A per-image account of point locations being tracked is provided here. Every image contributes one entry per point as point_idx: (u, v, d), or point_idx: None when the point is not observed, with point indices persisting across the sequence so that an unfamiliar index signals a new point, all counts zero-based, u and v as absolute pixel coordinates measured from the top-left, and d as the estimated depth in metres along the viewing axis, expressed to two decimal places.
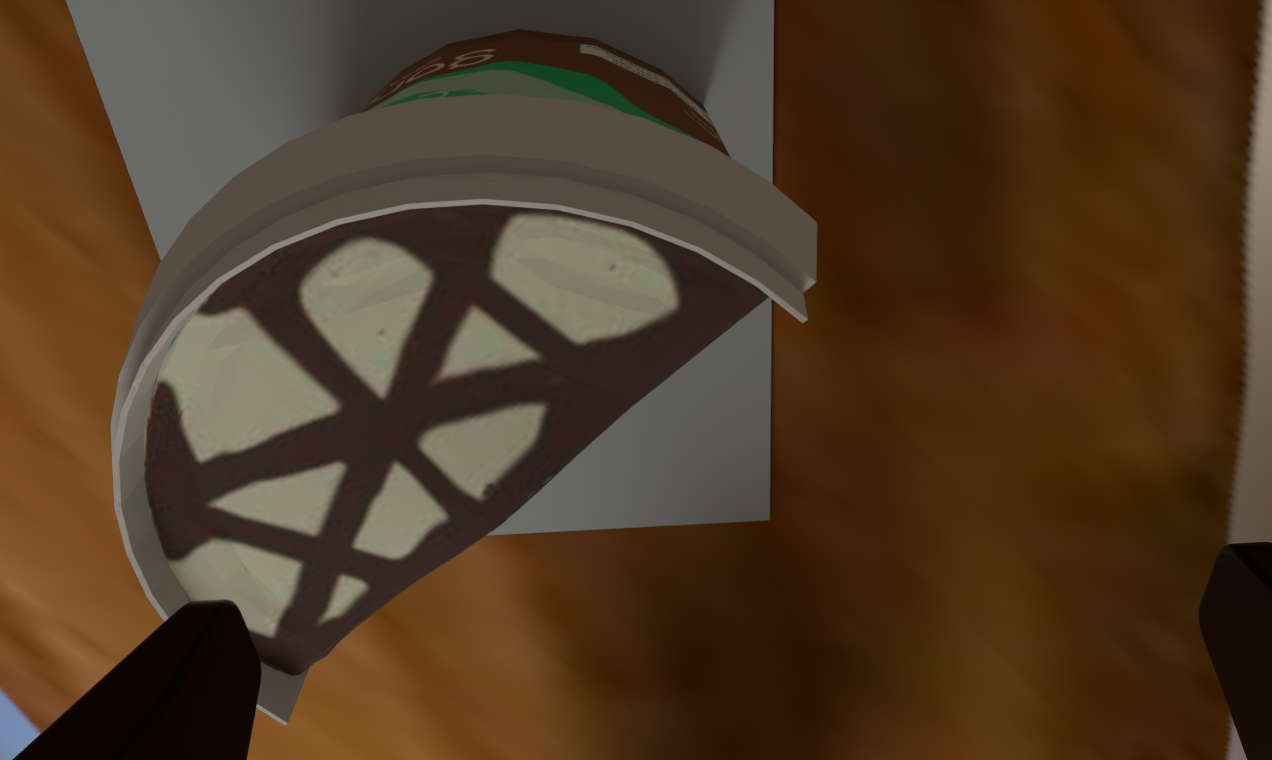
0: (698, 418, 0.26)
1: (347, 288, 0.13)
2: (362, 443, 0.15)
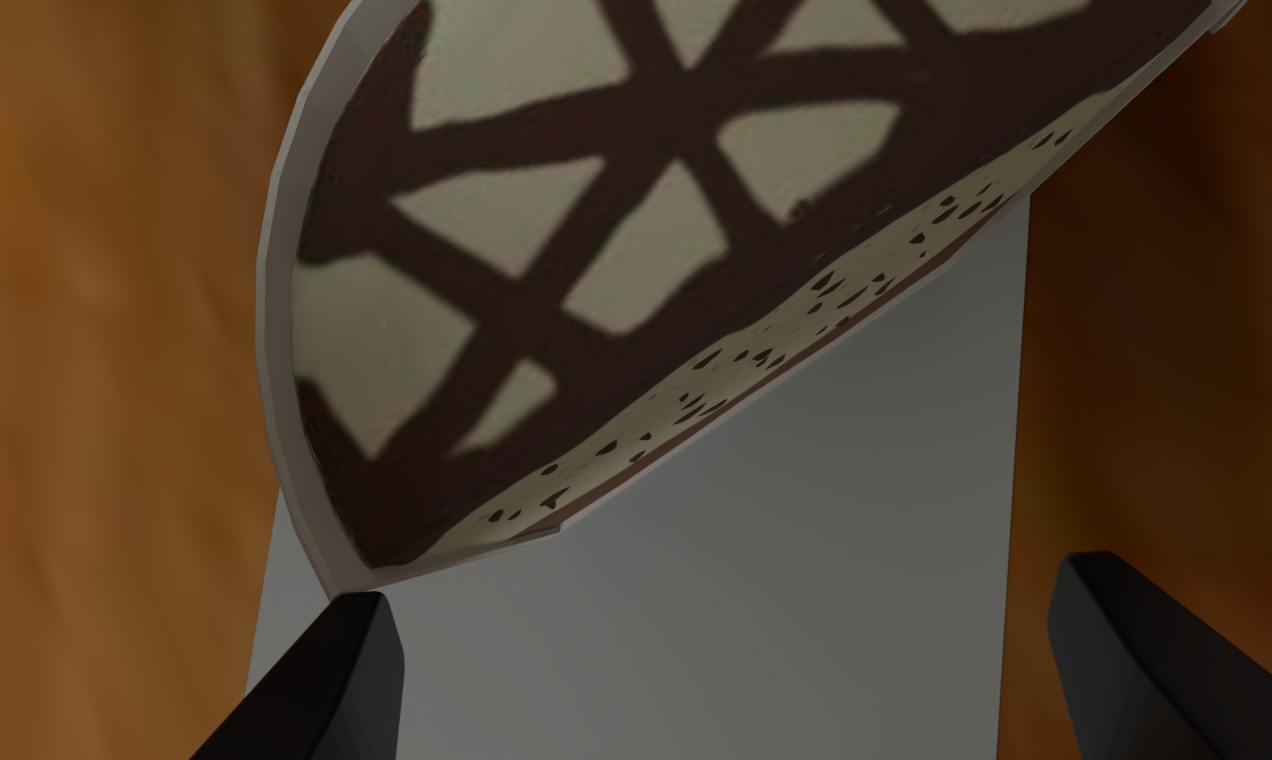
0: (899, 692, 0.19)
1: None
2: (637, 131, 0.11)
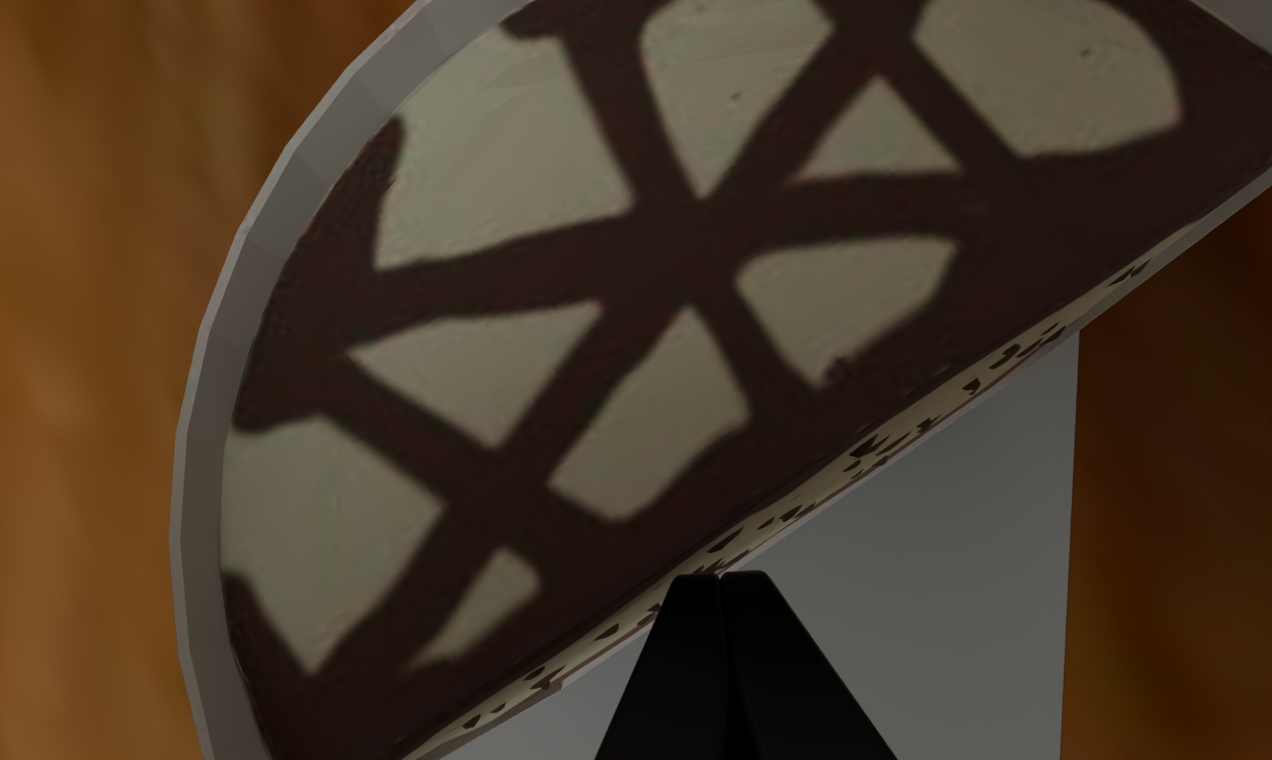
0: None
1: (709, 31, 0.10)
2: (642, 273, 0.09)
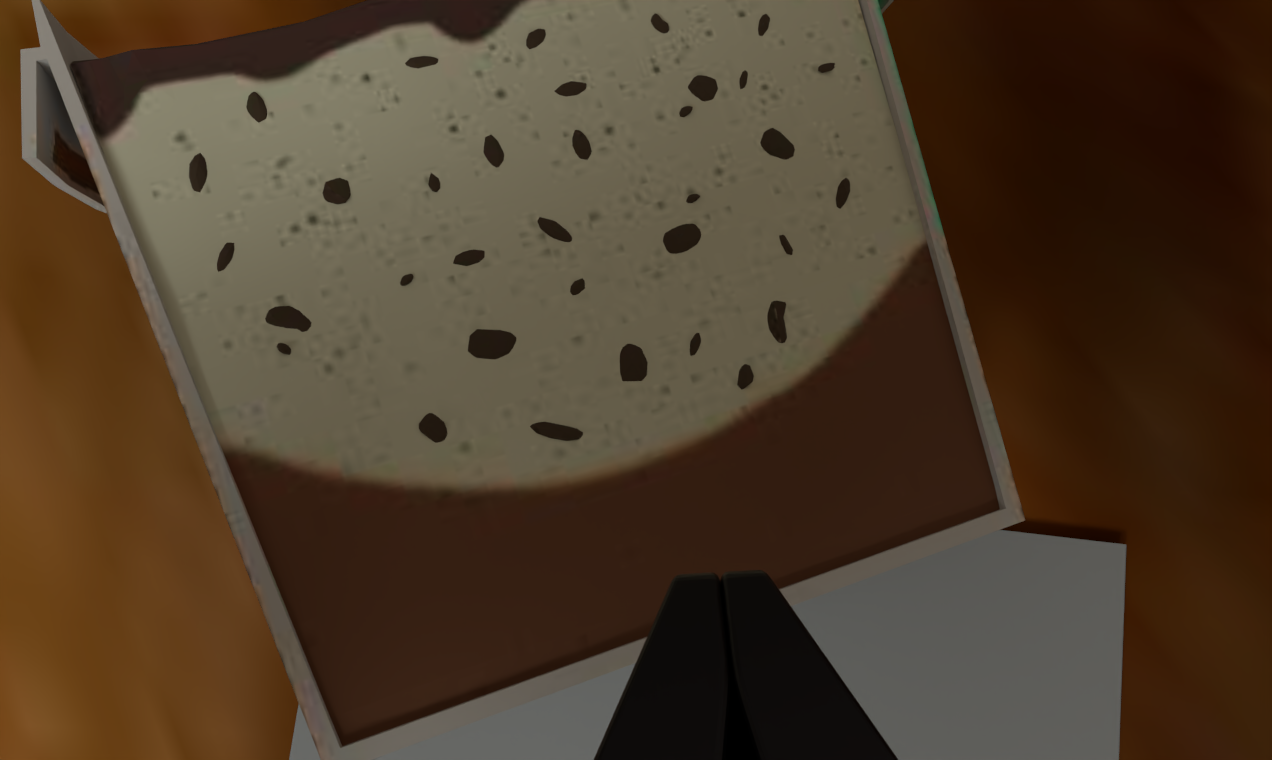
0: None
1: None
2: None
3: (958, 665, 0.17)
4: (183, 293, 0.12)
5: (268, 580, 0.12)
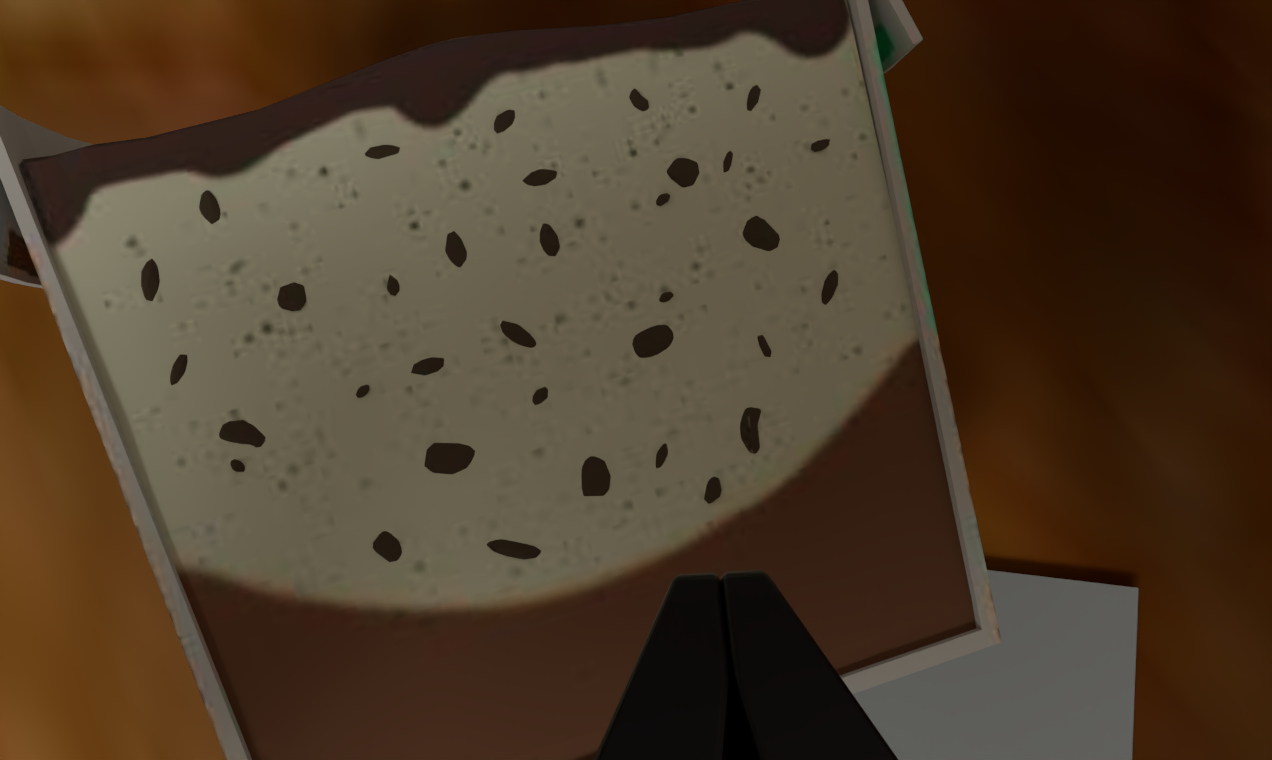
0: None
1: None
2: None
3: (967, 712, 0.17)
4: (136, 408, 0.12)
5: (221, 702, 0.12)
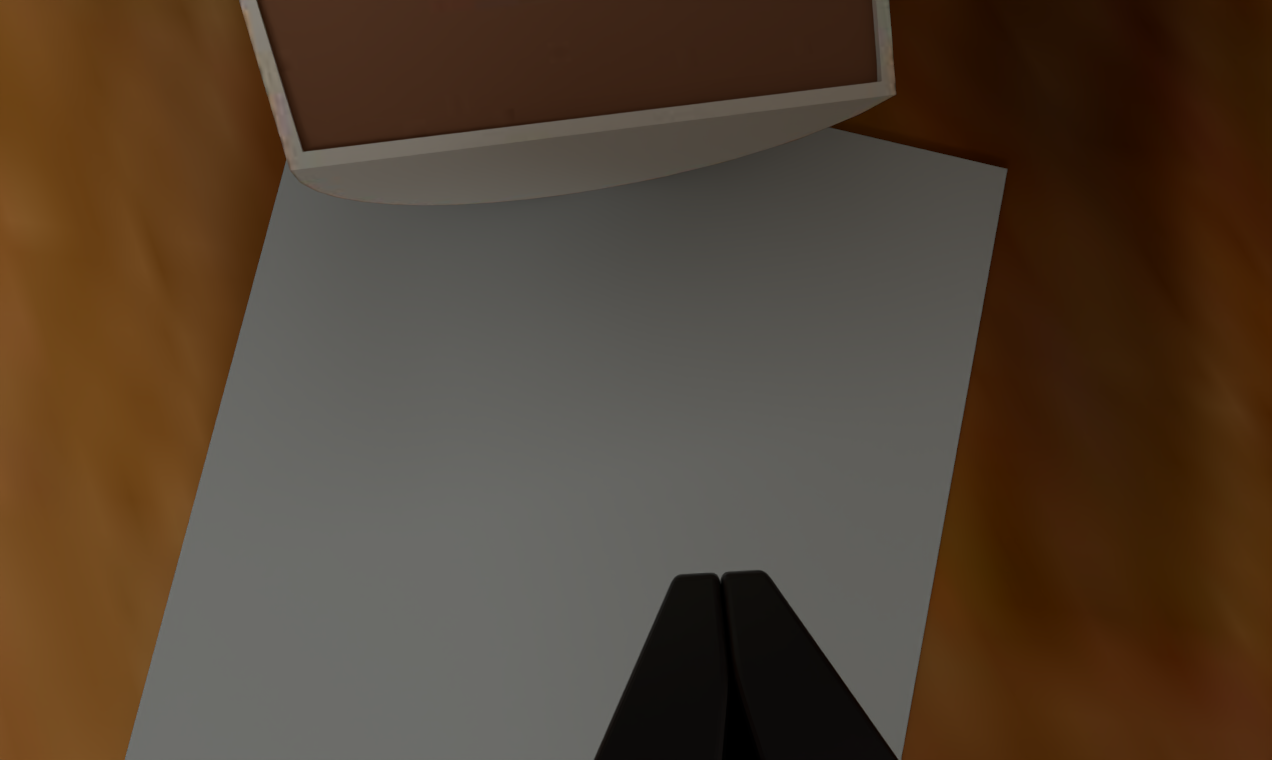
0: None
1: None
2: None
3: (855, 251, 0.20)
4: None
5: (254, 9, 0.14)
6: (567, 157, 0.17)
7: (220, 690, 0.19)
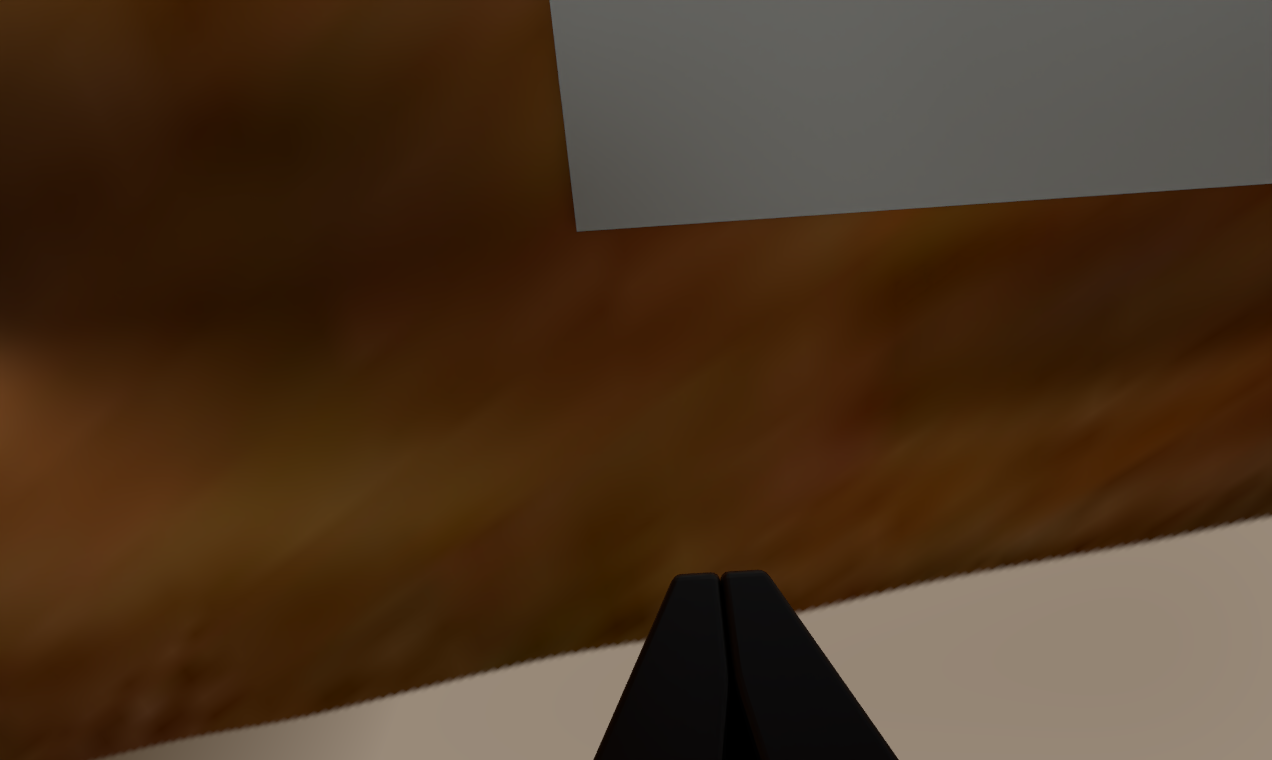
0: (756, 131, 0.19)
1: None
2: None
3: (1259, 47, 0.18)
4: None
5: None
6: None
7: None
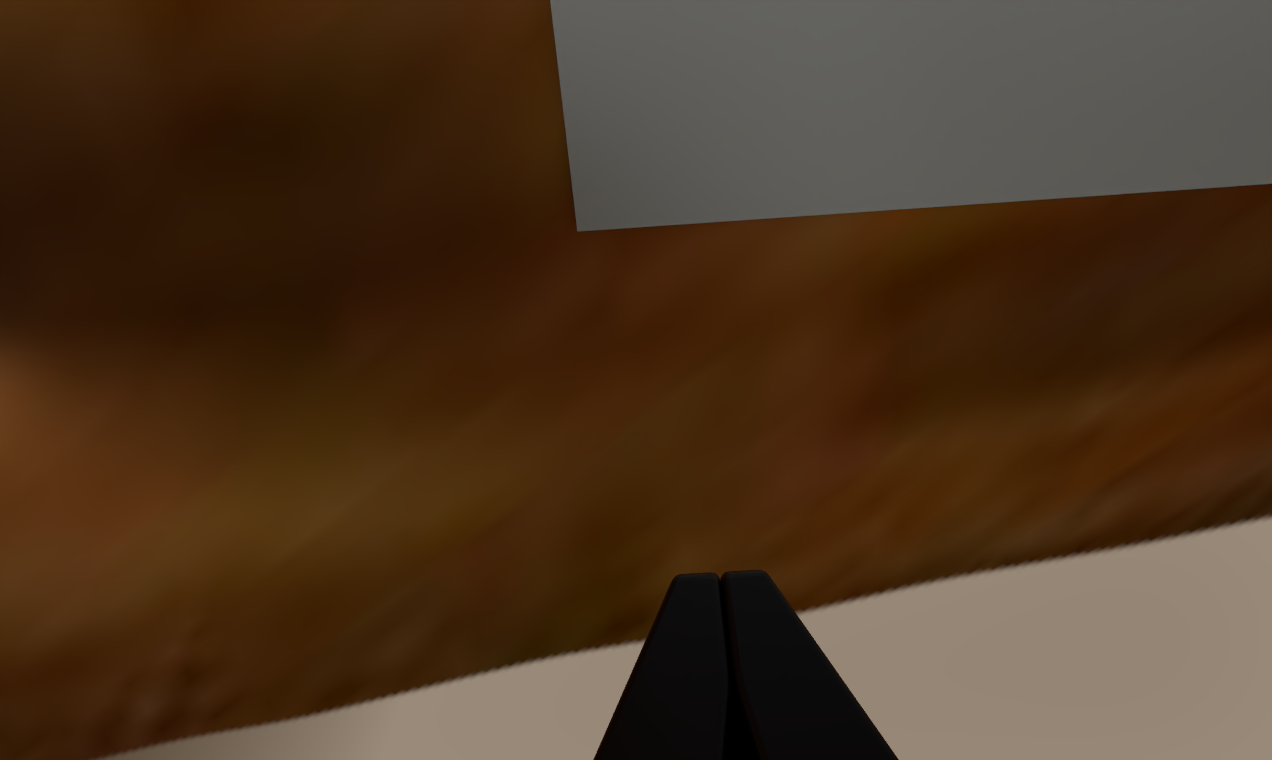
0: (757, 130, 0.19)
1: None
2: None
3: (1261, 47, 0.18)
4: None
5: None
6: None
7: None
